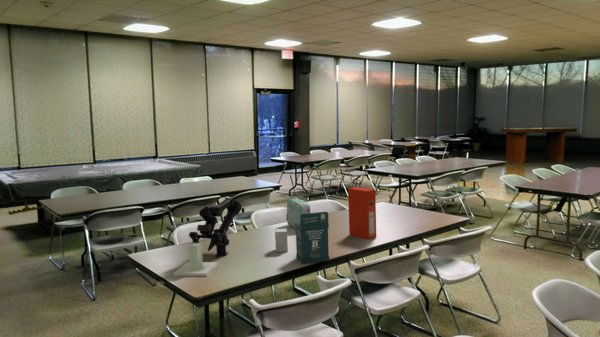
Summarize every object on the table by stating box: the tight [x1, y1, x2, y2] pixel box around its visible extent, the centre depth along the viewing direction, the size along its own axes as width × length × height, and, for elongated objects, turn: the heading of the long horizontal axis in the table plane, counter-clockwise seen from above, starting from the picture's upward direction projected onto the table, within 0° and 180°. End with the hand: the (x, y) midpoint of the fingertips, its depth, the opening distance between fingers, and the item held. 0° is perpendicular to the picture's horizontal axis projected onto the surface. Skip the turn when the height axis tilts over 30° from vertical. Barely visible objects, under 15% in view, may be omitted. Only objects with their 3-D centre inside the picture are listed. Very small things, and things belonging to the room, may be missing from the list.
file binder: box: [347, 186, 377, 240], centre depth 300 cm, size 8×17×32 cm, turn 39°
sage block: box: [188, 242, 204, 269], centre depth 242 cm, size 5×5×13 cm
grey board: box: [173, 261, 219, 277], centre depth 243 cm, size 18×18×2 cm
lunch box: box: [285, 197, 311, 230], centre depth 331 cm, size 27×10×21 cm, turn 25°
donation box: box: [295, 211, 331, 265], centre depth 256 cm, size 16×16×28 cm
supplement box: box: [274, 228, 289, 253], centre depth 274 cm, size 7×7×13 cm
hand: (200, 250), depth 248 cm, fingers open, 9 cm apart
